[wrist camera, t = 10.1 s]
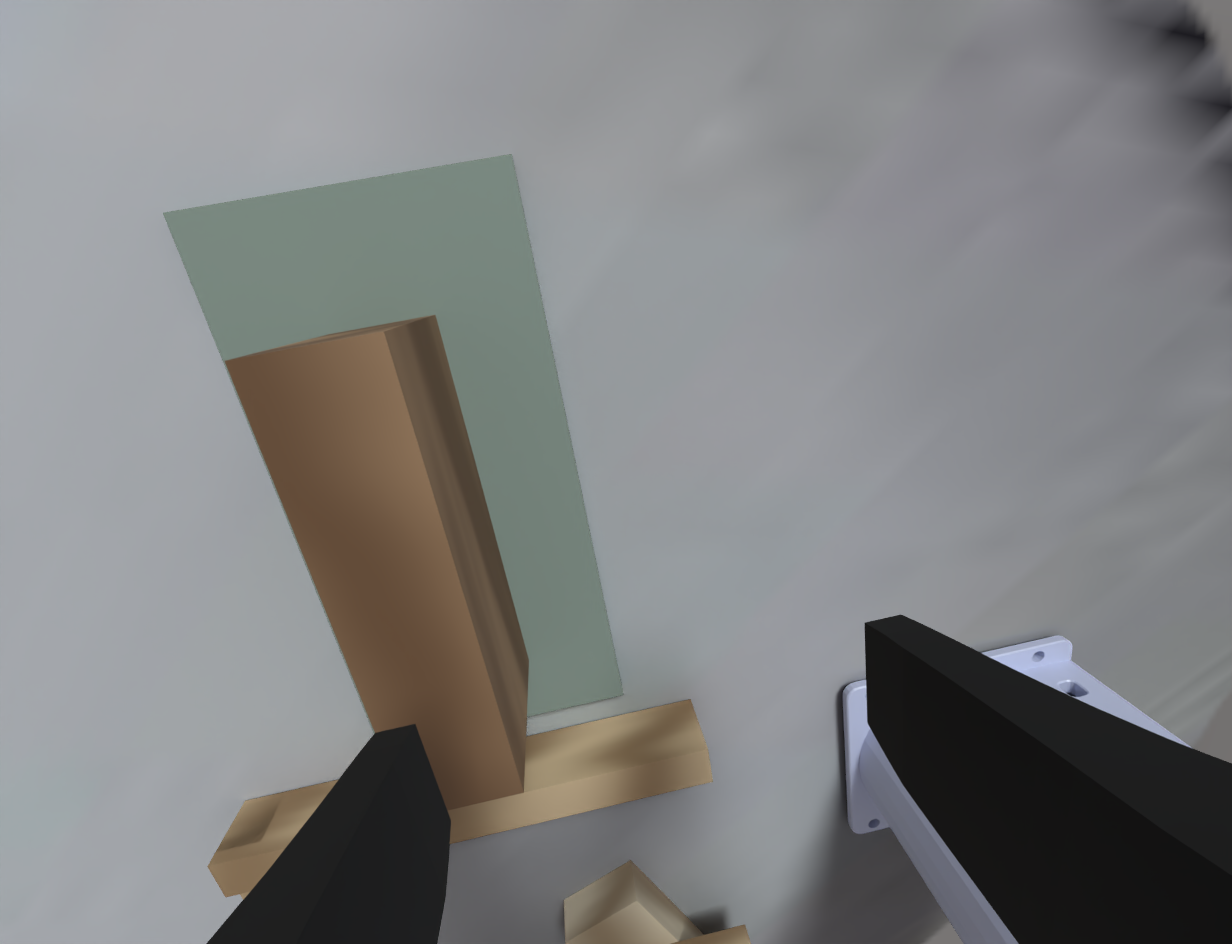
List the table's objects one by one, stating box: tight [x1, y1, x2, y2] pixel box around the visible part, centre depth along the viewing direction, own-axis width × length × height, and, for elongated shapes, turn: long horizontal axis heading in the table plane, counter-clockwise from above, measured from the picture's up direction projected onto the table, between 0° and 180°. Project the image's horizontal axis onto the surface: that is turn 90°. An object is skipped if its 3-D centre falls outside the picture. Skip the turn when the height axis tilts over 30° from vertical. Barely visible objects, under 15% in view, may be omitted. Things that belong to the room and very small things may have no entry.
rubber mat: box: [163, 154, 623, 734], centre depth 18 cm, size 9×18×1 cm, turn 10°
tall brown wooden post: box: [225, 315, 529, 811], centre depth 15 cm, size 3×12×6 cm, turn 10°
